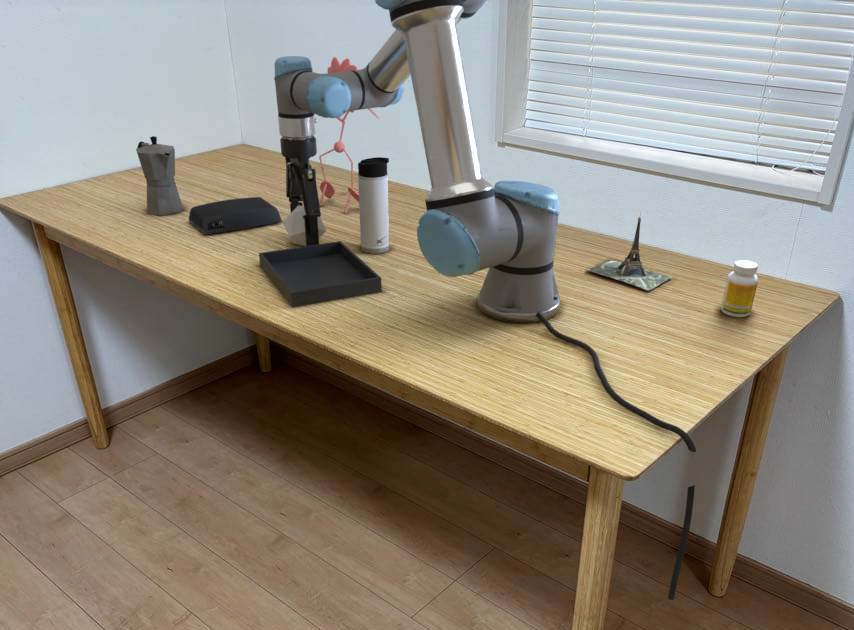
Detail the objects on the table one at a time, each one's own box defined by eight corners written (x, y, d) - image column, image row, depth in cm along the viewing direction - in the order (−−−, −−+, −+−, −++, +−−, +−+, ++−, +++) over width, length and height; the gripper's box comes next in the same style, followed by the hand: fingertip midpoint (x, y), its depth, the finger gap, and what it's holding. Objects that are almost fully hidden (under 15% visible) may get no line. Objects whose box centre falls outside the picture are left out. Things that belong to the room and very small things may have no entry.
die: (334, 245, 182) (322, 203, 182) (320, 237, 173) (308, 194, 174) (300, 257, 184) (289, 215, 184) (285, 250, 175) (273, 206, 175)
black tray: (381, 291, 157) (381, 277, 156) (292, 307, 151) (291, 292, 149) (341, 253, 175) (340, 240, 174) (260, 266, 169) (258, 252, 167)
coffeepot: (195, 212, 200) (184, 138, 190) (160, 220, 194) (147, 144, 185) (165, 198, 209) (153, 127, 200) (131, 206, 204) (117, 133, 194)
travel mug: (386, 255, 175) (384, 162, 164) (357, 253, 176) (353, 160, 165) (393, 245, 180) (392, 155, 170) (365, 243, 181) (362, 153, 171)
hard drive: (187, 221, 193) (185, 204, 191) (263, 209, 202) (261, 193, 200) (204, 237, 184) (202, 219, 182) (283, 223, 192) (281, 207, 190)
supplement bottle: (716, 306, 153) (726, 258, 148) (744, 306, 152) (755, 258, 148) (725, 317, 148) (736, 269, 143) (754, 318, 148) (766, 269, 143)
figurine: (367, 221, 194) (361, 67, 176) (295, 200, 209) (283, 55, 191) (408, 206, 205) (407, 59, 187) (337, 188, 219) (330, 49, 201)
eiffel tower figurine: (585, 272, 167) (592, 209, 160) (611, 260, 173) (619, 199, 166) (648, 292, 158) (659, 227, 151) (674, 278, 164) (685, 215, 157)
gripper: (332, 146, 161) (338, 251, 173) (299, 124, 179) (306, 221, 190) (296, 149, 158) (304, 256, 170) (266, 127, 176) (275, 225, 187)
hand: (305, 238), depth 180 cm, fingers closed on die, 10 cm apart
